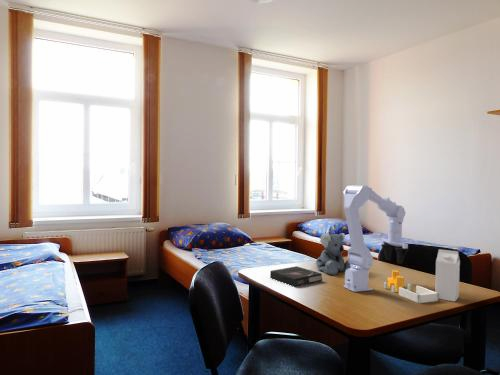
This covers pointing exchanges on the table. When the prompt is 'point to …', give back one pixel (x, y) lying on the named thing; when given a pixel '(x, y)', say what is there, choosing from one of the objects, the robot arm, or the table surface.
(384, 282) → the small blocks
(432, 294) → the end holder
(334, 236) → the koala plush
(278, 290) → the table surface
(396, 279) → the pipe clamp
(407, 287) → the clips
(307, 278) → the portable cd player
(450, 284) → the milk carton
